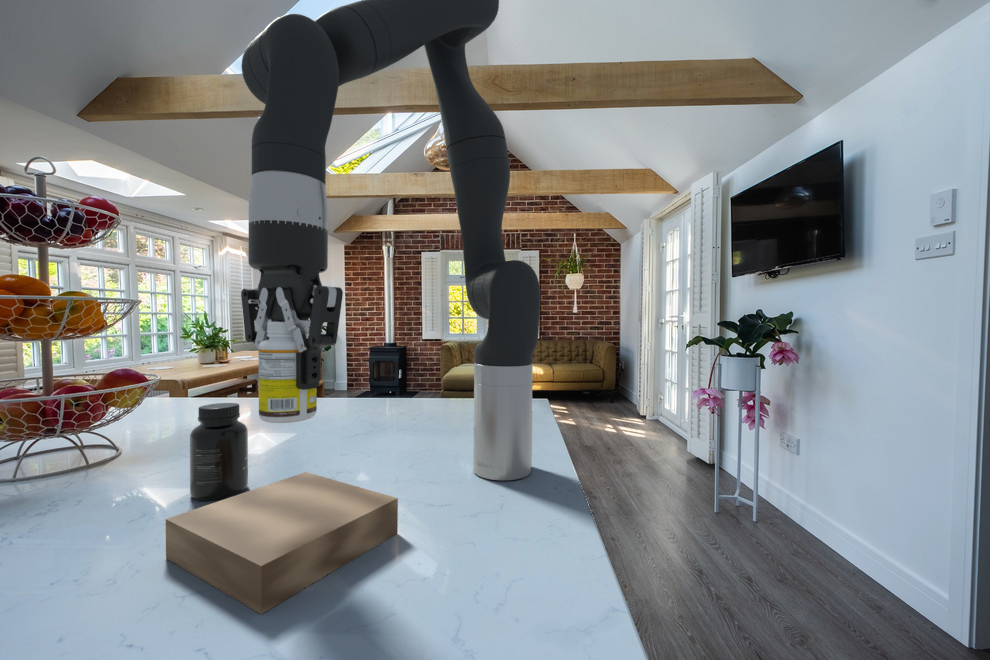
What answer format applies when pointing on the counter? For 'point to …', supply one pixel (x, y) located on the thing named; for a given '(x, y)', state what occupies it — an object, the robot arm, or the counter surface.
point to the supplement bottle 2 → (282, 379)
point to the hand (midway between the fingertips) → (288, 385)
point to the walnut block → (279, 536)
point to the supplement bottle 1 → (218, 453)
